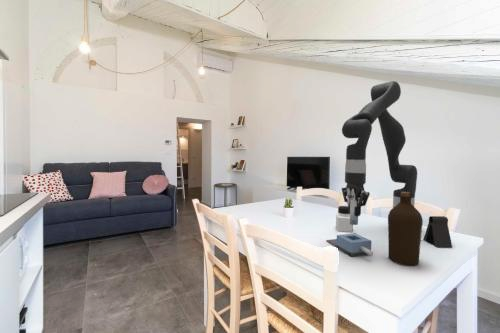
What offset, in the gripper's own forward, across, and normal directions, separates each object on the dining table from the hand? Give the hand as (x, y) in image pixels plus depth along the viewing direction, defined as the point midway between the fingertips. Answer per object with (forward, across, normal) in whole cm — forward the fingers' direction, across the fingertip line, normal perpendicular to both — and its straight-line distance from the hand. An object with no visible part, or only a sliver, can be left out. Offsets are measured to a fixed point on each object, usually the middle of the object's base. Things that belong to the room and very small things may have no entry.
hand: (354, 214), depth 97 cm
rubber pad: (+15, +9, 0) cm, 17 cm away
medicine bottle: (+15, +25, -14) cm, 33 cm away
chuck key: (+4, 0, 0) cm, 4 cm away
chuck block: (+15, -2, 0) cm, 15 cm away
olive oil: (+15, -12, -12) cm, 23 cm away
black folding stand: (+15, -3, -40) cm, 43 cm away
